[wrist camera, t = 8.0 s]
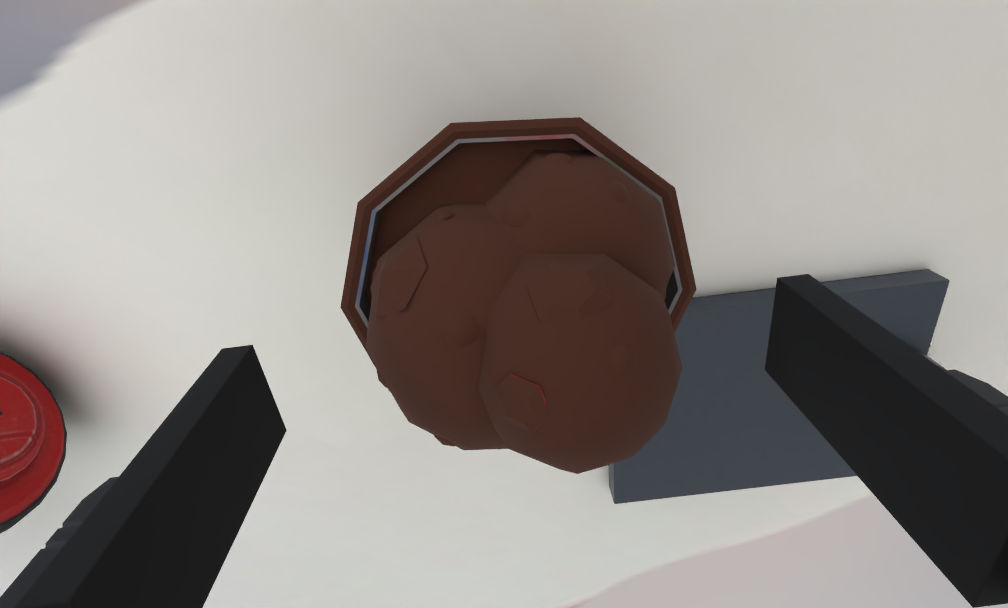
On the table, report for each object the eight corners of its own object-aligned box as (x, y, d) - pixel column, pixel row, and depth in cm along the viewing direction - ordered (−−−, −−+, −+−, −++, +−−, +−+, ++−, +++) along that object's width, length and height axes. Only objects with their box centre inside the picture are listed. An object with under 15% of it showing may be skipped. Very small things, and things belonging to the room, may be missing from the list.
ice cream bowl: (580, 42, 22) (744, 52, 8) (640, 272, 26) (805, 512, 13) (348, 135, 23) (167, 274, 10) (447, 338, 28) (420, 617, 14)
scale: (939, 267, 27) (989, 292, 24) (884, 454, 33) (920, 491, 30) (603, 308, 27) (617, 338, 25) (609, 487, 33) (620, 526, 31)
